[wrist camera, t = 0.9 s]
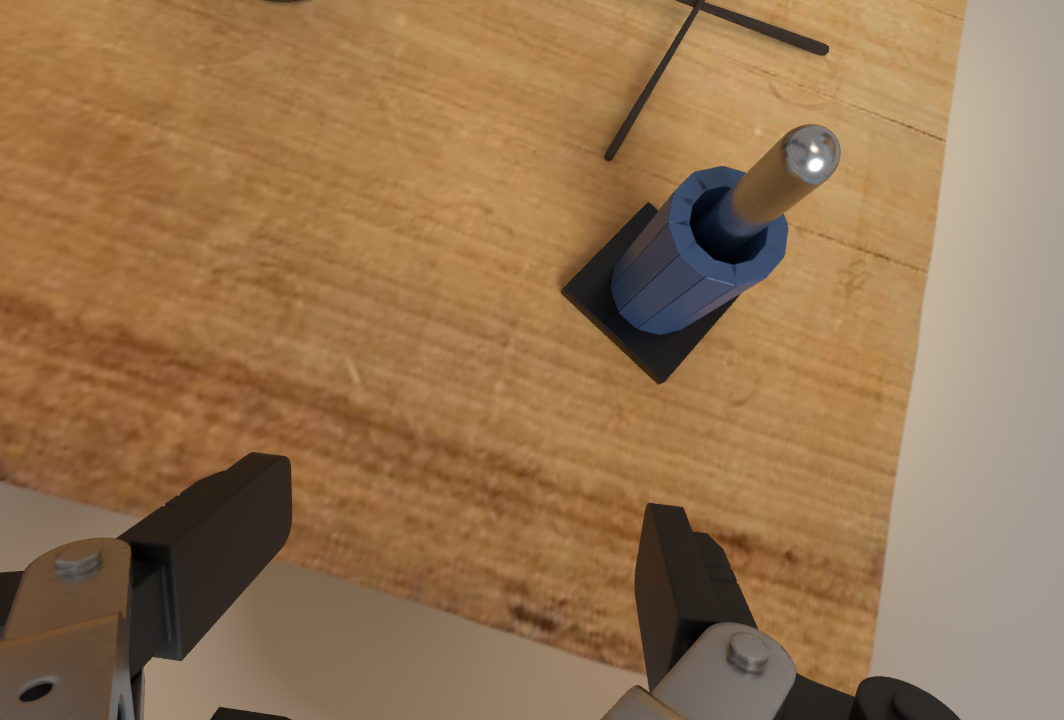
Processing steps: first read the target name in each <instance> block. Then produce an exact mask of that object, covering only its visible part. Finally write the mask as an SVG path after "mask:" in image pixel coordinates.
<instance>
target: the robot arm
mask: <svg viewBox="0 0 1064 720" xmlns="http://www.w3.org/2000/svg"><path fill="white" fill-rule="evenodd" d="M269 1H277V2H290V1H298V0H269ZM291 525H292V489H291V464H290V461H289V459H288V458H287V457H286V456H280V455H272V454H264V453H256V452H252V453H249V454H248V455H246V456H245V457H243V458H242V459H241V460H239V461H238V462H237V463H235V464H234V465H232V466H231V467H230V468H228V469H227V470H226V471H221V472H219V473H216V474H214V475H211V476H208V477H206V478H203V479H201V480H198V481H197V482H196V483H194V484H193V485H191V486H190V487H189V488H187V489H186V490H184V491H183V492H181V494H180V496H176V497H174V498H173V499H171V500H170V501H169V502H167V503H166V505H165V507H163V506H161V507H160V508H159V509H157V510H156V511H154V512H153V513H151V514H150V515H149V516H147V517H146V518H144V519H143V520H141V521H140V522H139V523H137V524H136V525H135V526H133V527H131V528H130V529H129V530H127V531H126V532H125V533H123V534H121V535H120V536H119V537H117V538H116V539H115V538H92V539H85V540H80V541H75V542H72V543H68V544H65V545H63V546H60V547H57V548H55V549H53V550H50V551H48V552H46V553H45V554H43V555H41V556H39V557H38V558H36V559H35V560H34V561H33V562H32V563H30V564H29V565H28V567H27V568H26V569H25V571H16V572H2V573H0V720H144V694H145V677H144V668H143V667H144V666H145V665H146V663H147V662H148V661H149V660H150V659H151V658H152V657H157V658H164V659H170V660H177V661H182V660H183V659H184V658H185V657H186V655H187V654H188V653H189V652H190V651H191V650H192V649H193V648H194V647H195V645H196V644H197V643H198V642H199V641H200V640H201V639H202V637H203V636H204V635H205V634H206V633H207V632H208V631H209V630H210V628H211V627H212V626H213V625H214V624H215V623H216V622H217V620H218V619H219V618H220V617H221V616H222V615H223V614H224V613H225V612H226V610H227V609H228V608H229V607H230V606H231V605H232V604H233V603H234V601H235V600H236V599H237V598H238V597H239V596H240V595H241V594H242V592H243V591H244V590H245V589H246V588H247V587H248V585H250V583H251V582H252V581H253V580H254V579H255V578H256V577H257V576H258V574H259V573H260V572H261V571H262V570H263V569H264V568H265V566H266V565H267V564H268V563H269V562H270V561H271V560H272V559H273V557H274V556H275V555H276V554H277V553H278V552H279V551H280V550H281V548H282V547H283V546H284V544H285V542H286V541H287V538H288V536H289V533H290V529H291ZM635 599H636V605H637V612H638V619H639V625H640V632H641V638H642V645H643V652H644V658H645V665H646V672H647V678H648V685H649V691H650V693H649V692H648V691H646V690H645V689H644V688H642V687H641V686H639V685H636V686H633V687H632V688H630V689H629V690H628V691H627V692H626V693H625V694H624V695H623V696H622V697H621V698H620V699H619V700H618V701H617V703H616V704H615V705H614V706H613V707H612V708H611V709H610V710H609V711H608V712H607V714H605V715H604V717H603V718H602V719H601V720H960V719H959V717H958V716H957V715H956V714H955V713H954V712H953V711H952V710H950V709H949V708H948V707H947V706H946V705H945V704H943V703H942V702H941V701H939V700H938V699H937V698H935V697H934V696H932V695H931V694H929V693H927V692H926V691H924V690H922V689H920V688H918V687H916V686H914V685H912V684H909V683H907V682H904V681H901V680H898V679H894V678H890V677H882V676H880V677H879V676H875V677H869V678H867V679H865V680H863V681H862V682H861V683H860V684H859V686H858V688H857V691H856V695H855V697H854V696H851V695H848V694H846V693H843V692H840V691H838V690H835V689H832V688H830V687H827V686H824V685H822V684H819V683H816V682H814V681H812V680H809V679H807V678H805V677H803V676H801V675H800V674H798V673H796V669H795V665H794V663H793V660H792V658H791V657H790V655H789V654H788V652H787V651H786V650H785V649H784V648H783V647H782V646H781V645H780V644H779V643H778V642H777V641H775V640H774V639H773V638H771V637H770V636H768V635H767V634H765V633H763V632H761V631H759V630H758V628H757V626H756V623H755V621H754V619H753V616H752V614H751V612H750V610H749V607H748V605H747V603H746V600H745V598H744V596H743V594H742V591H741V589H740V587H739V584H737V580H736V577H735V575H734V573H733V571H732V569H730V564H729V561H728V559H727V557H726V554H725V552H724V550H723V548H721V547H720V546H719V545H718V544H717V543H716V542H715V541H714V540H713V539H712V538H711V537H710V536H709V535H708V534H707V533H699V532H692V530H691V527H690V524H689V521H688V518H687V516H686V513H685V510H684V508H683V507H679V506H671V505H663V504H655V503H648V504H647V506H646V510H645V514H644V520H643V526H642V532H641V538H640V544H639V550H638V556H637V562H636V569H635ZM210 720H291V719H289V718H287V717H283V716H276V715H269V714H263V713H257V712H250V711H243V710H237V709H230V708H223V707H219V708H218V710H217V711H216V712H215V714H214V715H213V716H212V718H211V719H210Z"/></svg>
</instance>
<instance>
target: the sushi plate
mask: <svg viewBox="0 0 1064 720" xmlns="http://www.w3.org/2000/svg"><path fill="white" fill-rule="evenodd" d="M676 1H679V2H681V3H684V4H687V5H689V6H692V7H694V8H693V10H692V12H691V13H690V15H689V17H688V18H687V20H686V21H685V23H684V25H683V26H682V28H681V30H680V31H679V33H678V35H677V36H676V38H675V40H674V41H673V43H672V45H671V46H670V48H669V49H668V51H667V53H666V54H665V56H664V58H663V59H662V61H661V63H660V64H659V66H658V68H657V69H656V71H655V73H654V74H653V76H652V77H651V79H650V81H649V82H648V84H647V86H646V87H645V89H644V91H643V92H642V94H641V95H640V97H639V99H638V100H637V102H636V104H635V105H634V107H633V109H632V110H631V112H630V114H629V115H628V117H627V119H626V120H625V122H624V124H623V125H622V127H621V129H620V130H619V132H618V133H617V135H616V137H615V138H614V140H613V142H612V144H611V145H610V147H609V149H608V150H607V152H606V154H605V159H607V160H609V161H611V160H612V159H613V157H614V155H615V154H616V152H617V150H618V148H619V147H620V145H621V143H622V142H623V140H624V138H625V137H626V135H627V133H628V131H629V130H630V128H631V126H632V125H633V123H634V121H635V119H636V118H637V116H638V114H639V113H640V111H641V109H642V107H643V106H644V104H645V102H646V101H647V99H648V97H649V95H650V94H651V92H652V90H653V88H654V87H655V85H656V83H657V82H658V80H659V78H660V76H661V75H662V73H663V71H664V70H665V68H666V66H667V64H668V63H669V61H670V59H671V57H672V56H673V54H674V52H675V51H676V49H677V47H678V45H679V44H680V42H681V40H682V39H683V37H684V35H685V33H686V32H687V30H688V28H689V27H690V25H691V23H692V21H693V20H694V18H695V16H696V15H697V13H698V11H699V9H700V10H702V11H705V12H707V13H710V14H712V15H715V16H718V17H720V18H723V19H725V20H728V21H731V22H733V23H736V24H738V25H741V26H744V27H746V28H749V29H751V30H754V31H757V32H759V33H762V34H765V35H767V36H770V37H773V38H775V39H778V40H781V41H783V42H786V43H789V44H791V45H794V46H797V47H800V48H802V49H805V50H808V51H810V52H813V53H816V54H818V55H824V56H825V55H826V54H827V53H828V52H829V46H827V45H826V44H824V43H821V42H818V41H815V40H813V39H810V38H807V37H804V36H801V35H798V34H796V33H793V32H790V31H787V30H784V29H781V28H778V27H775V26H773V25H770V24H767V23H764V22H761V21H758V20H755V19H753V18H750V17H747V16H744V15H741V14H738V13H735V12H732V11H729V10H726V9H723V8H720V7H717V6H714V5H711V4H708V3H705V2H704V1H705V0H676Z"/></svg>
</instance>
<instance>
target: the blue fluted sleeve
mask: <svg viewBox="0 0 1064 720" xmlns="http://www.w3.org/2000/svg"><path fill="white" fill-rule="evenodd" d="M745 174H746V173H745V172H742V171H739V170H735V169H732V168H728V167H725V166H723V167H722V166H720V167H715V168H711V169H706V170H702V171H697V172H694V173H692V174H691V175H690V176H689V177H688V178H687V179H686V180H685V181H684V182H683V183H682V184H681V185H680V186H679V187H678V188H677V189H676V190H675V191H674V192H673V194H672V195H671V196H670V197H669V199H668V200H667V201H666V202H665V204H664V205H663V206H662V207H661V209H660V210H659V211H658V212H657V214H656V215H655V216H654V217H653V219H652V220H651V221H650V222H649V224H648V225H647V226H646V227H645V229H644V230H643V231H642V232H641V233H640V235H639V236H638V237H637V238H636V240H635V241H634V242H633V243H632V245H631V246H630V247H629V248H628V250H627V251H626V252H625V253H624V255H623V256H622V257H621V258H620V260H619V261H618V262H617V263H616V265H615V267H614V272H613V277H612V282H611V286H610V287H611V292H612V295H613V298H614V301H615V304H616V307H617V310H618V311H619V313H620V314H621V315H622V316H623V317H624V318H625V319H626V320H627V321H628V322H629V323H630V324H632V325H633V326H634V327H635V328H638V329H639V330H643V331H646V332H650V333H654V334H658V335H660V334H661V335H663V334H667V333H671V332H674V331H678V330H681V329H683V328H685V327H686V326H688V325H690V324H691V323H693V322H695V321H696V320H698V319H700V318H701V317H703V316H704V315H706V314H708V313H709V312H711V311H713V310H714V309H716V308H718V307H719V306H721V305H723V304H724V303H726V302H727V301H729V300H731V299H732V298H734V297H736V296H737V295H739V294H741V293H742V292H744V291H746V290H747V289H749V288H750V287H752V286H754V285H755V284H757V283H759V282H760V281H762V280H764V279H765V278H767V277H768V275H769V274H770V273H771V272H772V271H773V270H774V268H775V267H776V266H777V265H778V264H779V263H780V261H781V260H782V259H783V258H784V255H785V250H786V242H787V235H788V227H787V226H788V224H787V222H786V219H785V216H784V214H782V215H781V216H780V217H778V218H777V219H776V220H775V221H773V222H772V223H771V224H769V225H768V226H767V227H765V228H764V229H763V230H762V231H760V232H759V233H758V234H756V235H755V236H754V237H752V238H751V239H750V240H749V241H747V242H746V243H745V244H743V245H742V246H741V247H739V248H738V249H737V250H736V251H734V252H733V253H732V254H730V255H729V256H728V257H726V258H725V259H724V260H723V261H718V260H714V259H713V258H712V257H711V256H709V255H708V254H707V253H706V252H705V251H704V250H703V249H702V248H701V247H700V246H699V245H698V244H697V243H696V241H695V238H694V236H693V233H692V230H691V228H692V227H693V226H694V225H695V224H696V223H697V222H698V221H699V220H700V219H701V218H702V217H703V216H704V215H705V214H706V213H707V212H708V211H709V210H710V209H711V208H712V207H713V206H714V205H715V204H716V203H717V202H718V201H719V200H720V199H721V198H722V197H723V196H724V195H725V194H726V193H727V192H728V191H729V190H730V189H731V188H732V187H733V186H734V185H735V184H736V183H737V182H738V181H739V180H740V179H741V178H742V177H743V176H744V175H745Z"/></svg>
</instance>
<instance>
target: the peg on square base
mask: <svg viewBox="0 0 1064 720" xmlns="http://www.w3.org/2000/svg"><path fill="white" fill-rule="evenodd" d="M840 153H841V151H840V145H839V141H838V139H837V138H836V136H835V135H834V134H833V133H832V132H831V131H830V130H829V129H827V128H825V127H823V126H820V125H815V124H808V125H802V126H799V127H796V128H794V129H792V130H791V131H789V132H787V133H786V134H785V135H784V136H783V137H782V138H781V139H780V140H779V141H778V142H777V143H776V144H775V145H774V146H773V147H772V148H771V149H770V150H769V151H768V152H767V153H766V154H765V155H764V156H763V157H762V158H761V159H760V160H759V161H758V162H757V163H756V164H755V165H754V166H753V167H752V168H751V169H750V170H749V171H748V172H747V173H746V174H745V175H744V176H743V177H742V178H741V179H740V180H739V181H738V182H737V183H736V184H735V185H734V186H733V187H732V188H731V189H730V190H729V191H728V192H727V193H726V194H725V195H724V196H723V197H722V198H721V199H720V200H719V201H718V202H717V203H716V204H715V205H714V206H713V207H712V208H711V209H710V210H709V211H708V212H707V213H706V214H705V215H704V216H703V217H702V218H701V219H700V220H699V221H698V222H697V223H696V224H695V225H694V226H693V227H692V228H691V230H692V233H693V236H694V238H695V241H696V243H697V244H698V245H699V246H700V247H701V248H702V249H703V250H704V251H705V252H706V253H707V254H708V255H709V256H711V257H712V258H713V259H714V260H718V261H723V260H724V259H725V258H726V257H728V256H729V255H730V254H732V253H733V252H734V251H736V250H737V249H738V248H739V247H741V246H742V245H743V244H745V243H746V242H747V241H749V240H750V239H751V238H752V237H754V236H755V235H756V234H758V233H759V232H760V231H762V230H763V229H764V228H765V227H767V226H768V225H769V224H771V223H772V222H773V221H775V220H776V219H777V218H778V217H780V216H781V215H782V214H784V213H785V212H786V211H787V210H789V209H790V208H791V207H793V206H794V205H795V204H797V203H798V202H799V201H800V200H802V199H803V198H804V197H806V196H807V195H808V194H810V193H811V192H812V191H813V190H815V189H816V188H817V187H819V186H820V185H821V184H823V183H824V182H825V181H826V180H827V179H828V178H830V177H831V175H832V174H833V173H834V171H835V170H836V168H837V166H838V163H839V160H840ZM657 212H658V210H657V209H656V208H655V207H654V206H652V205H651V204H650V203H649V202H648V203H647V204H646V205H645V206H644V207H643V208H642V209H641V210H640V211H639V212H638V213H637V214H636V215H635V216H634V217H633V218H632V219H631V220H630V221H629V222H628V223H627V224H626V225H625V226H624V227H623V228H622V229H621V230H620V231H619V232H618V233H617V234H616V235H615V236H614V237H613V238H612V239H611V240H610V241H609V242H608V243H607V244H606V245H605V246H604V247H603V248H602V249H601V250H600V251H599V252H598V253H597V254H596V255H595V256H594V257H593V258H592V259H591V260H590V261H589V263H588V264H587V265H586V266H585V267H584V268H583V269H582V270H581V271H580V272H579V273H578V274H577V275H576V276H575V277H574V278H573V279H572V280H571V281H570V282H569V283H568V284H567V285H566V286H565V287H564V288H563V290H562V291H561V294H563V295H564V296H565V297H566V298H567V299H568V300H569V301H570V302H571V303H572V304H573V305H574V306H575V307H576V308H577V309H579V310H580V311H581V312H582V313H583V314H584V315H585V316H586V317H587V318H588V319H589V320H590V321H591V322H592V323H593V324H595V325H596V326H597V327H598V328H599V329H600V330H601V331H602V332H603V333H604V334H605V335H606V336H607V337H608V338H609V339H611V340H612V341H613V342H614V343H615V344H616V345H617V346H618V347H619V348H620V349H621V350H622V351H623V352H624V353H625V354H626V355H628V356H629V357H630V358H631V359H632V360H633V361H634V362H635V363H636V364H637V365H638V366H639V367H640V368H641V369H642V370H644V371H645V372H646V373H647V374H648V375H649V376H650V377H651V378H652V379H653V380H654V381H655V382H656V383H657V384H661V383H664V382H665V381H666V380H667V379H668V377H669V376H670V375H671V374H672V373H673V372H674V370H675V369H676V368H677V367H678V366H679V365H680V364H681V362H682V361H683V360H684V359H685V358H686V357H687V355H688V354H689V353H690V352H691V351H692V350H693V349H694V347H695V346H696V345H697V344H698V343H699V342H700V340H701V339H702V338H703V337H704V336H705V335H706V334H707V332H708V331H709V330H710V329H711V328H712V327H713V325H714V324H715V323H716V322H717V321H718V320H719V319H720V317H721V316H722V315H723V314H724V313H725V312H726V310H727V309H728V308H729V307H730V306H731V305H732V303H733V302H734V301H735V300H736V299H737V298H738V297H739V295H740V294H739V295H737V296H736V297H734V298H732V299H731V300H729V301H727V302H726V303H724V304H723V305H721V306H719V307H718V308H716V309H714V310H713V311H711V312H709V313H708V314H706V315H704V316H703V317H701V318H700V319H698V320H696V321H695V322H693V323H691V324H690V325H688V326H686V327H685V328H683V329H681V330H678V331H674V332H671V333H667V334H663V335H661V334H660V335H658V334H654V333H650V332H646V331H643V330H639V329H638V328H635V327H634V326H633V325H632V324H630V323H629V322H628V321H627V320H626V319H625V318H624V317H623V316H622V315H621V314H620V313H619V311H618V310H617V307H616V304H615V301H614V298H613V295H612V292H611V287H610V286H611V282H612V277H613V272H614V267H615V265H616V263H617V262H618V261H619V260H620V258H621V257H622V256H623V255H624V253H625V252H626V251H627V250H628V248H629V247H630V246H631V245H632V243H633V242H634V241H635V240H636V238H637V237H638V236H639V235H640V233H641V232H642V231H643V230H644V229H645V227H646V226H647V225H648V224H649V222H650V221H651V220H652V219H653V217H654V216H655V215H656V214H657Z"/></svg>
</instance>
